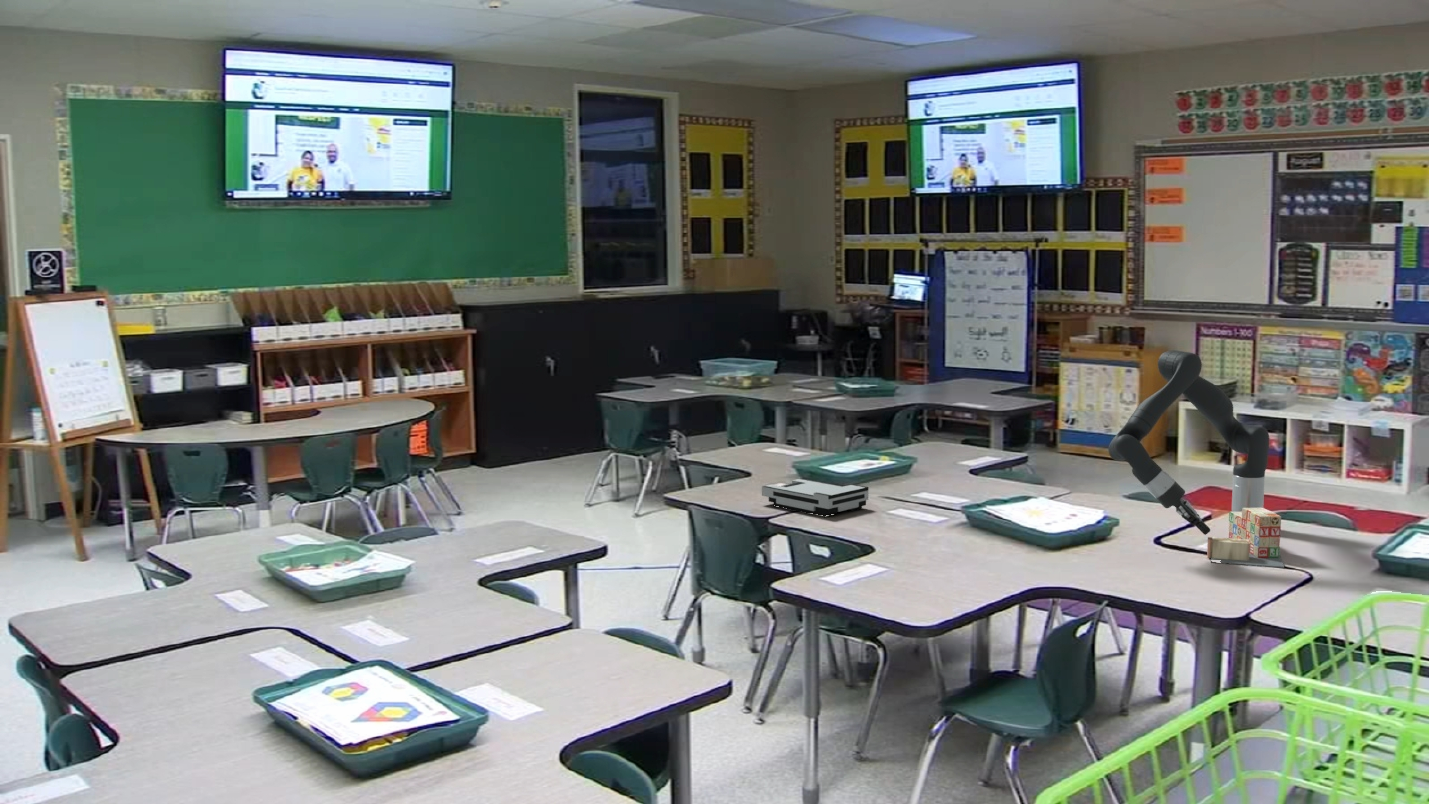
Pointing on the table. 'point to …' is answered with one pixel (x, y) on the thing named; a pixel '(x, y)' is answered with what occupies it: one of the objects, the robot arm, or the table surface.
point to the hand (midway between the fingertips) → (1207, 532)
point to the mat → (1256, 561)
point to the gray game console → (817, 496)
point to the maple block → (1228, 548)
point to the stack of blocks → (1257, 530)
